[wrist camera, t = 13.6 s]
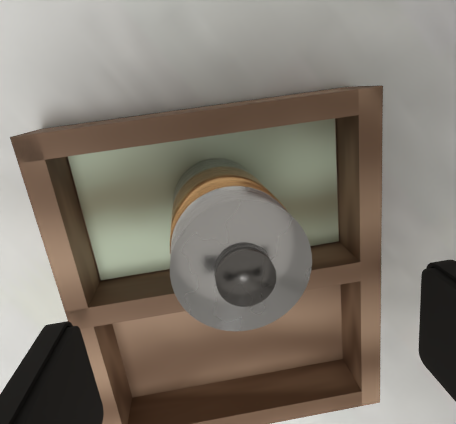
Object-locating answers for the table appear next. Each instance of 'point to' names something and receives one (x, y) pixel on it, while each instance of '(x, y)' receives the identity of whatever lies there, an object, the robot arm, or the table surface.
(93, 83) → the table surface
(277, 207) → the cell
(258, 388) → the wooden divided tray
